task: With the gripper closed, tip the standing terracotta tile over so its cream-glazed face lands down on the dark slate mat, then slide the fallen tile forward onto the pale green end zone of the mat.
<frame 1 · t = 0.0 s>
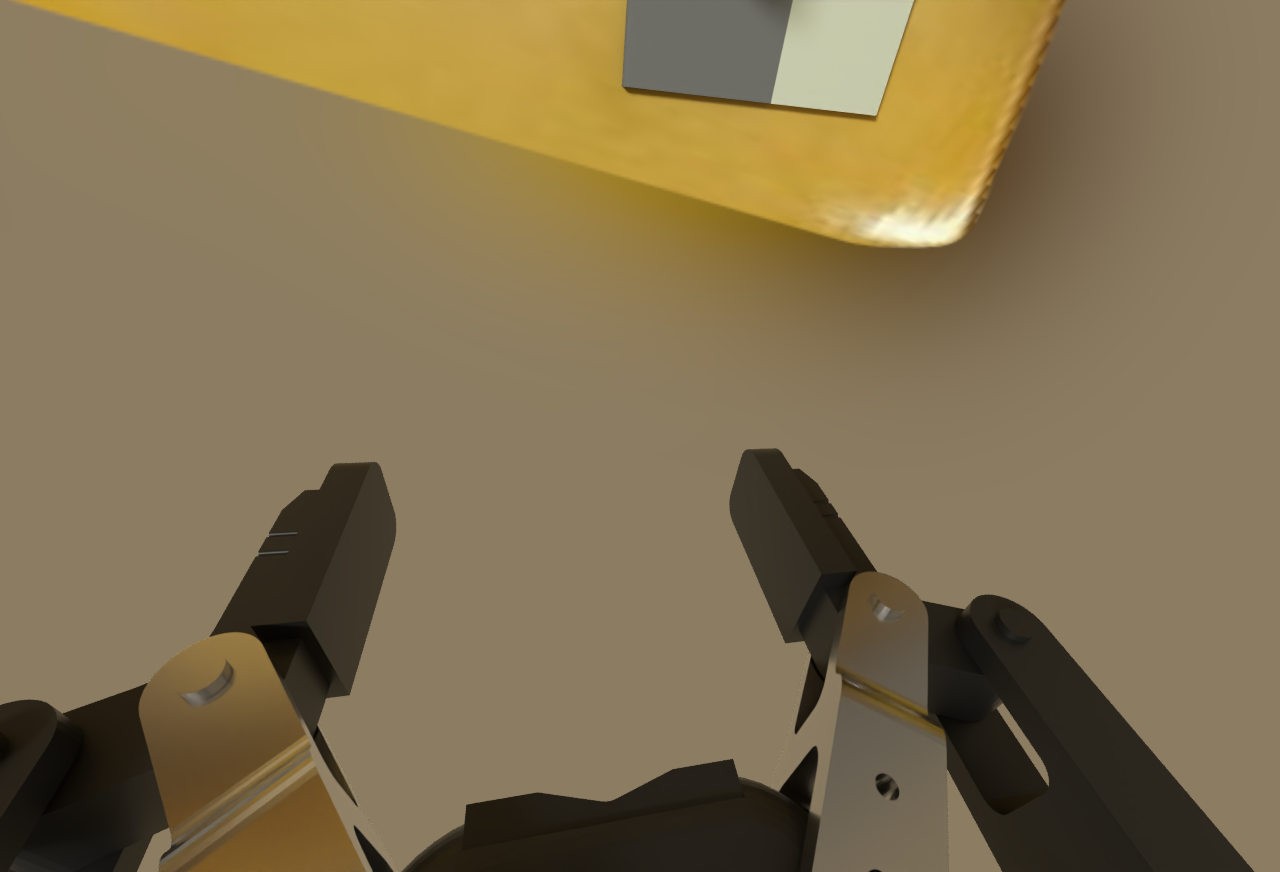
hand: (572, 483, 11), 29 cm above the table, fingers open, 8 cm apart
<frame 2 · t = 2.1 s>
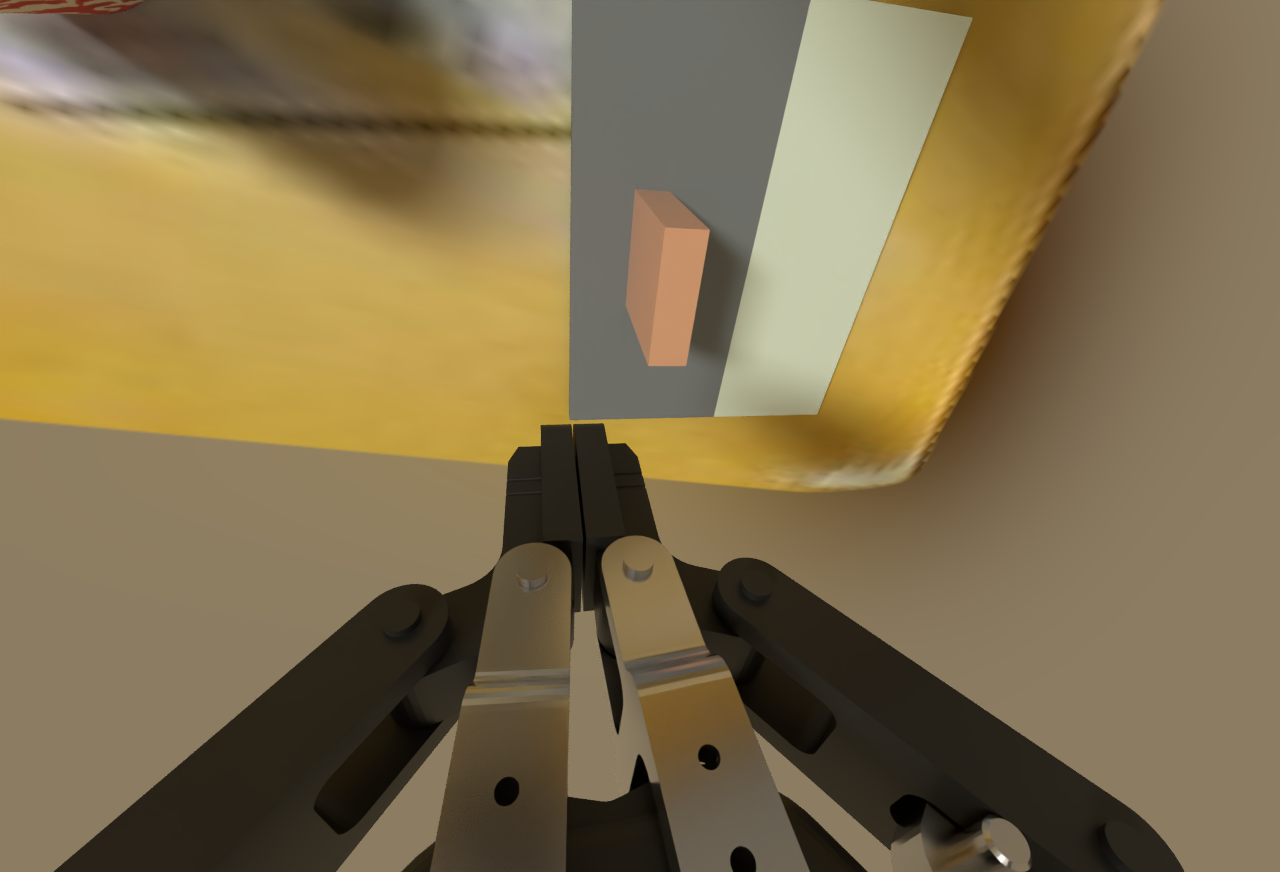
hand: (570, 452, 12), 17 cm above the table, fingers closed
tile: (659, 274, 23), point 4 cm above the table, touching mat
mat: (730, 252, 27), on the table
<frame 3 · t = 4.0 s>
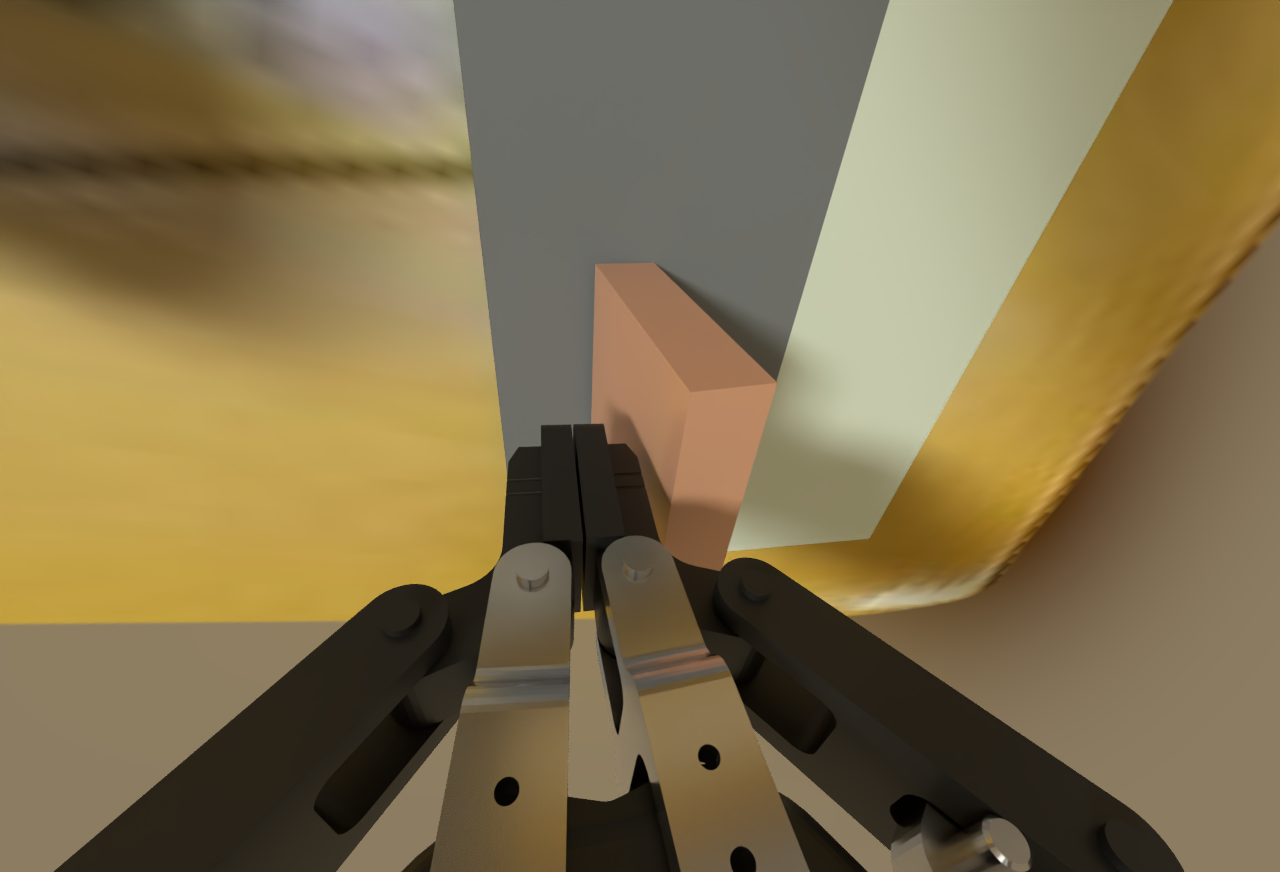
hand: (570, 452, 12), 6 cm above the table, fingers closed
tile: (654, 414, 13), point 4 cm above the table, tilted 8°, touching gripper, mat
mat: (752, 344, 17), on the table
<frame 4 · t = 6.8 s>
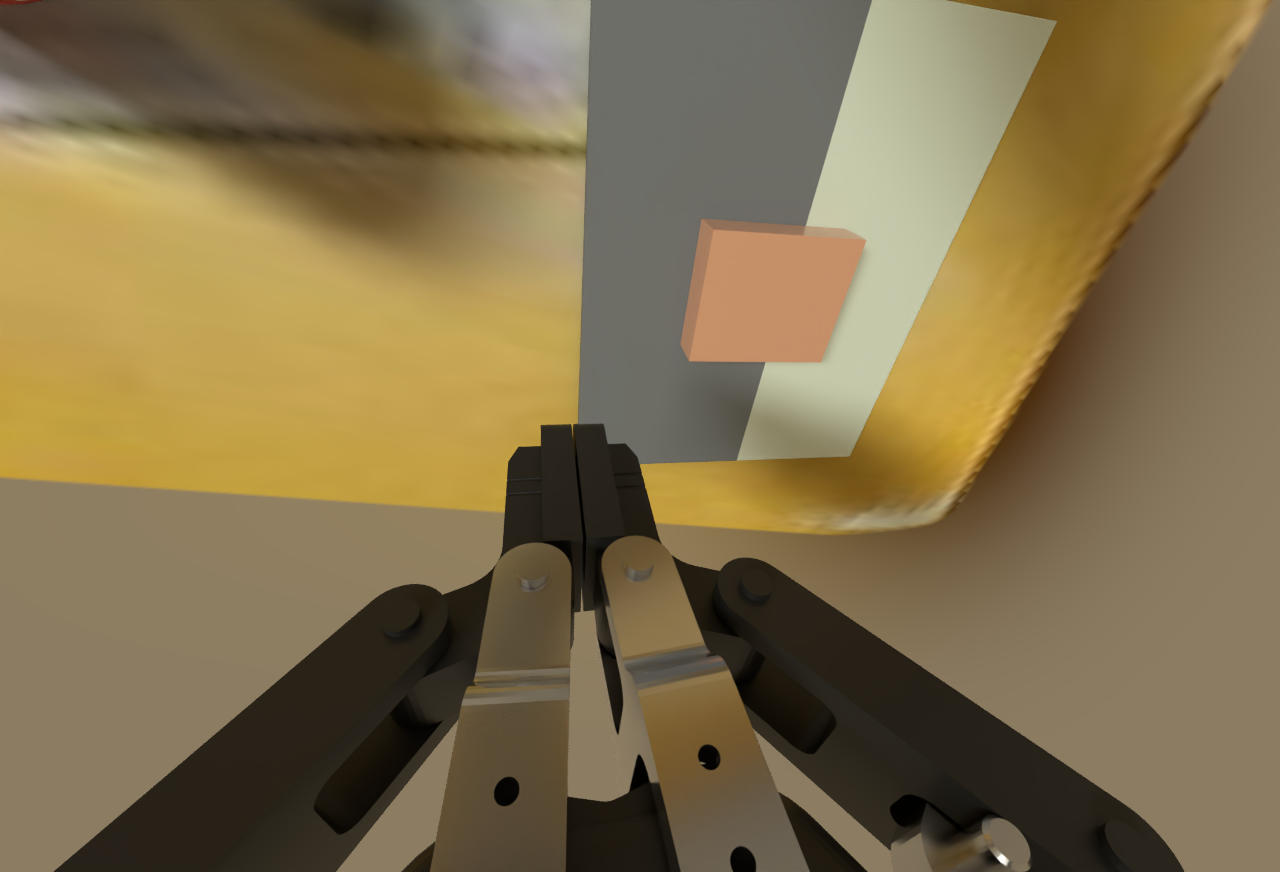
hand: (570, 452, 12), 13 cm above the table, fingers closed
tile: (765, 296, 22), point 2 cm above the table, tilted 90°, touching mat
mat: (763, 284, 24), on the table
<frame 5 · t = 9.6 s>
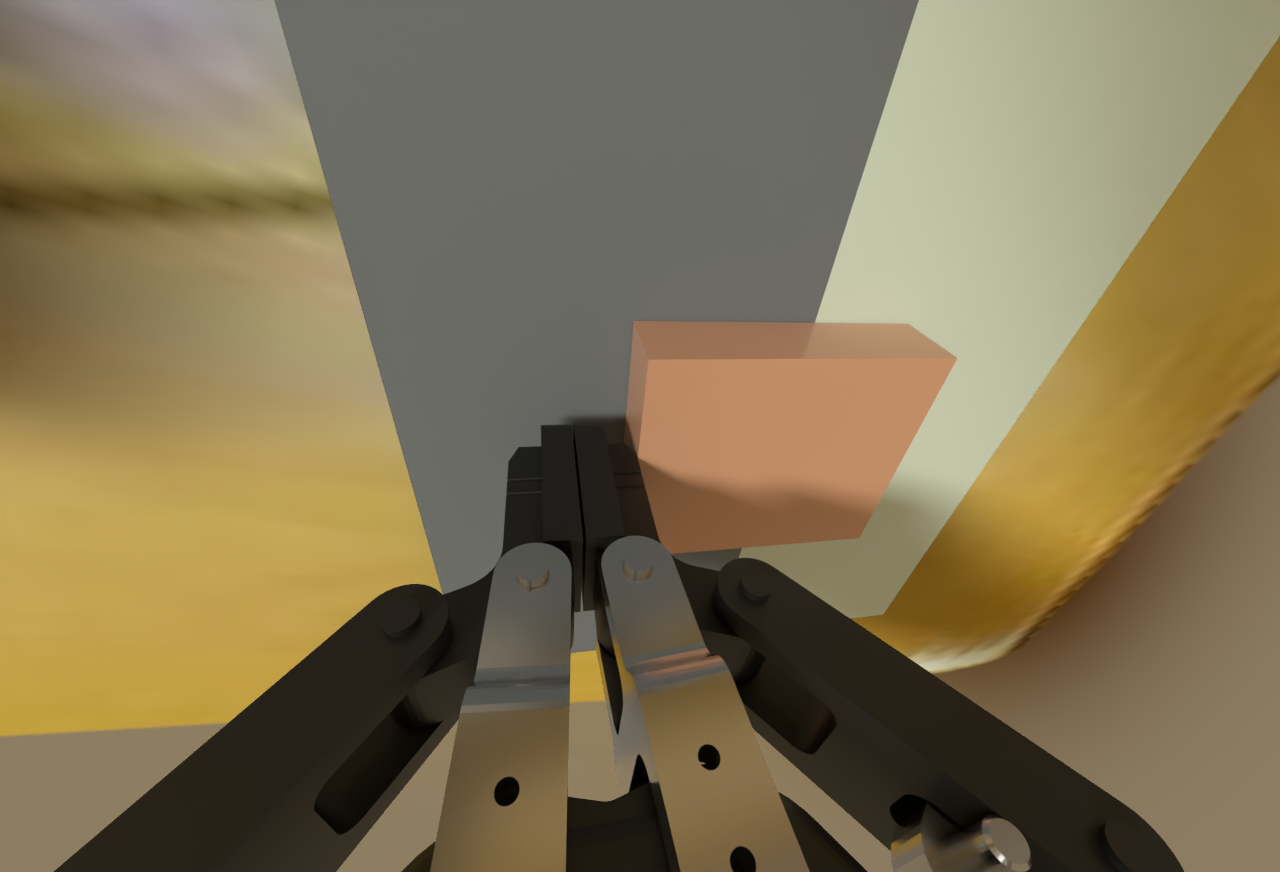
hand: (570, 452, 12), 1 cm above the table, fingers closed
tile: (762, 444, 12), point 2 cm above the table, tilted 90°, touching gripper
mat: (741, 411, 14), on the table
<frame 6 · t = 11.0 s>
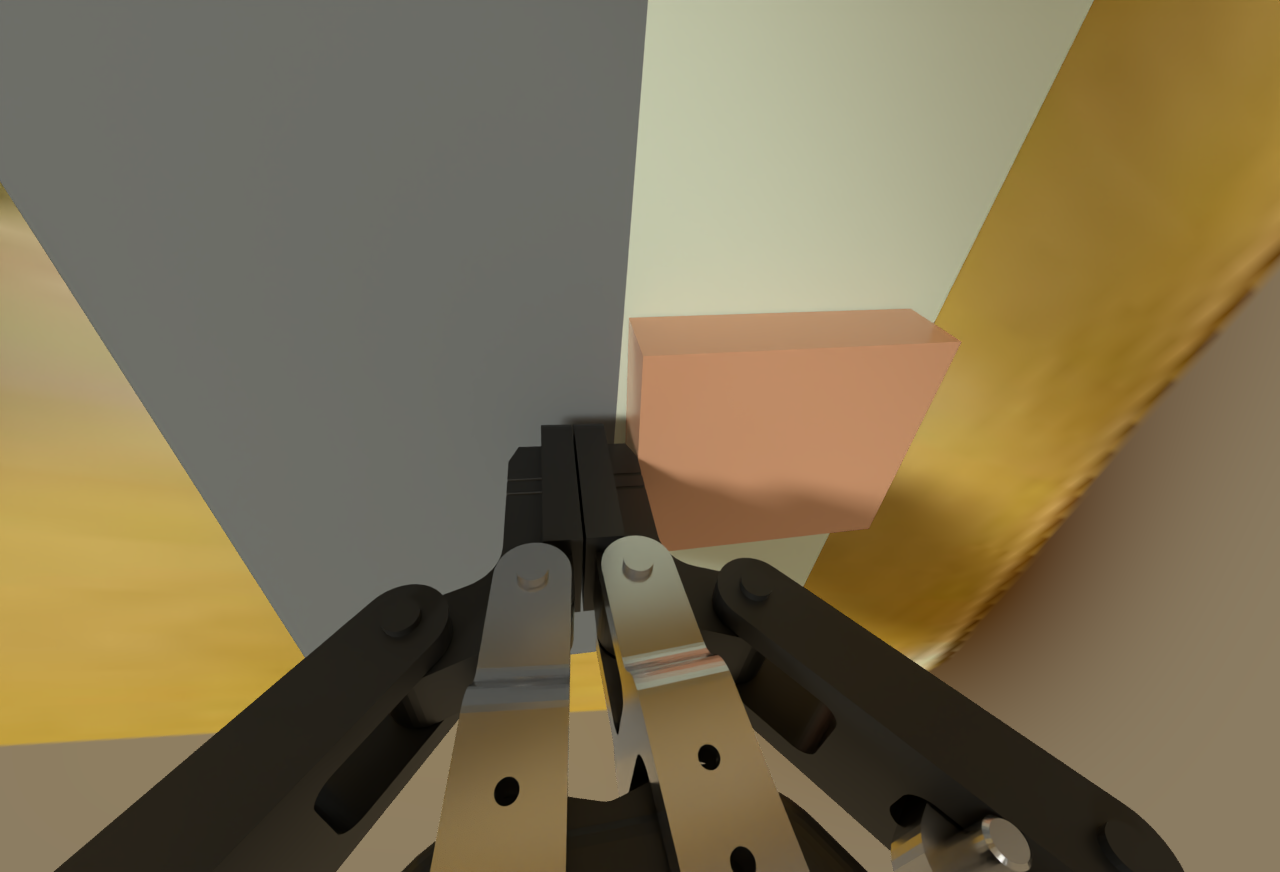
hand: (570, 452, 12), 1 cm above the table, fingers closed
tile: (765, 437, 12), point 2 cm above the table, tilted 90°, touching gripper, mat
mat: (574, 419, 13), on the table
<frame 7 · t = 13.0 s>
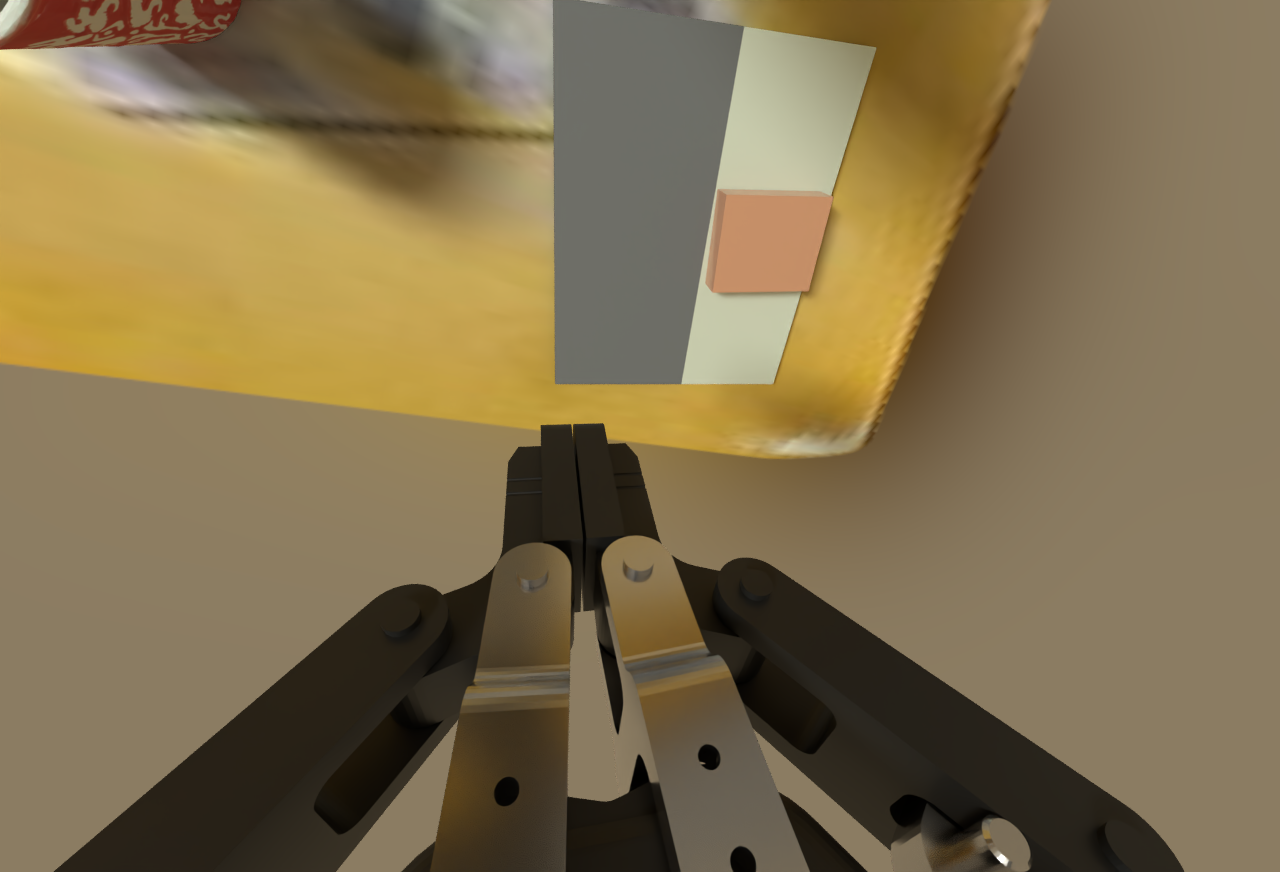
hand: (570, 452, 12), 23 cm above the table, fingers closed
tile: (765, 242, 32), point 2 cm above the table, tilted 90°, touching mat
mat: (689, 238, 32), on the table
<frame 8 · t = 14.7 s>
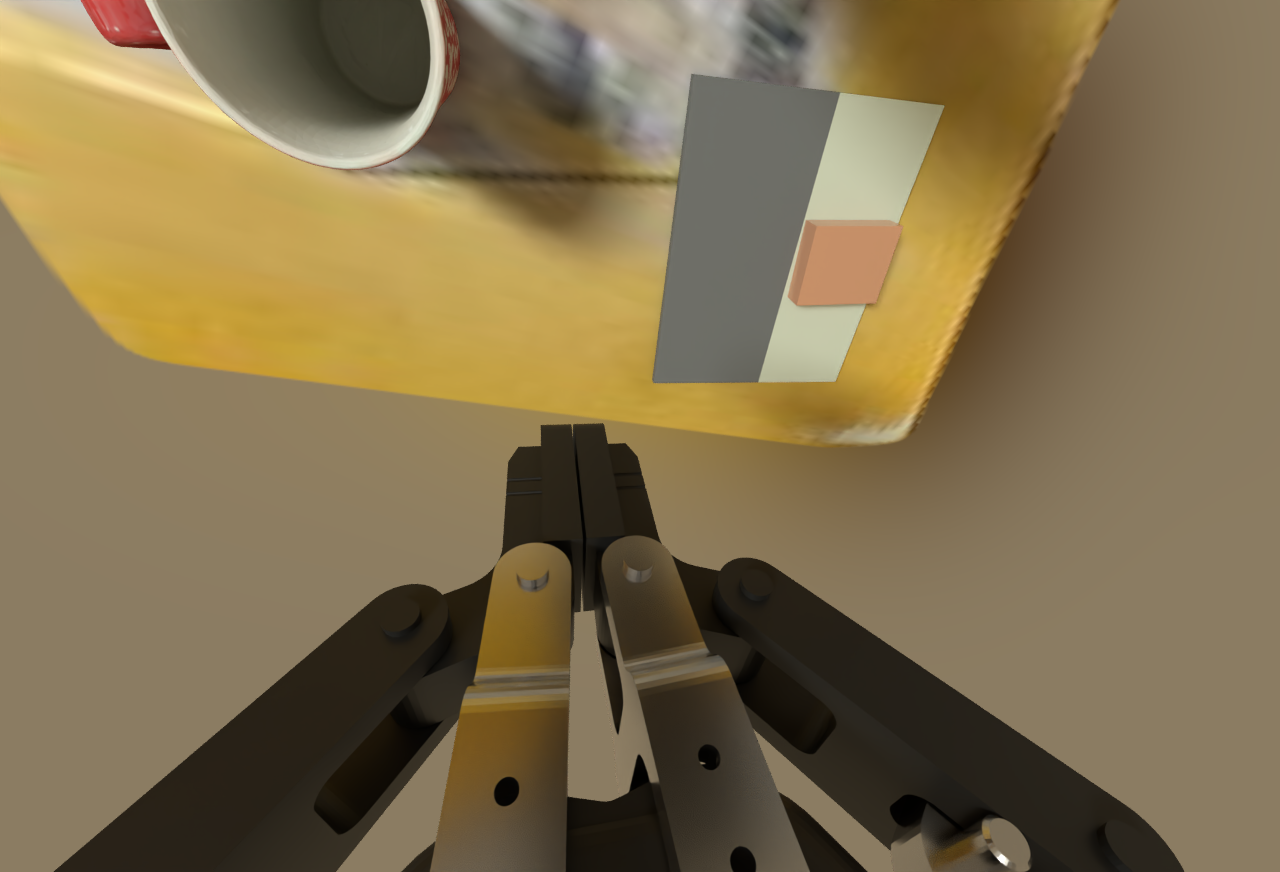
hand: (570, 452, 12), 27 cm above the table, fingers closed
mug: (358, 33, 26), on the table
tile: (842, 263, 37), point 2 cm above the table, tilted 90°, touching mat
mat: (777, 259, 38), on the table
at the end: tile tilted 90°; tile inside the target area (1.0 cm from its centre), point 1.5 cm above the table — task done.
